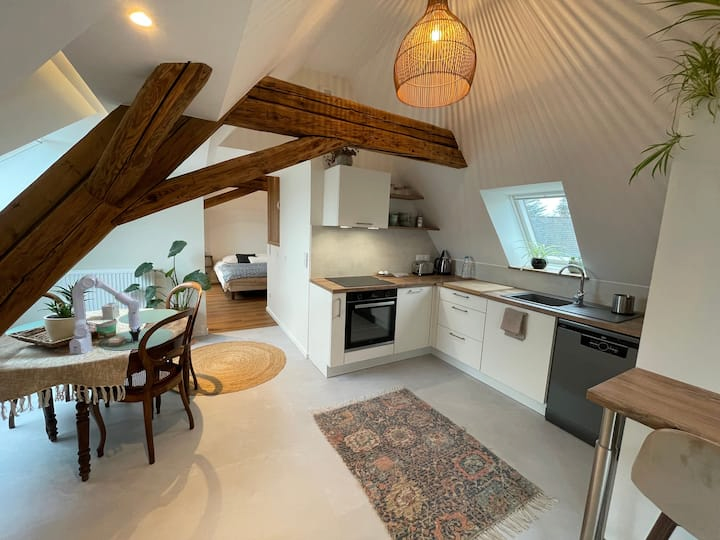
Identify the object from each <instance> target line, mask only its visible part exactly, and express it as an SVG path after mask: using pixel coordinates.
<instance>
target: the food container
mask: <svg viewBox="0 0 720 540" xmlns="http://www.w3.org/2000/svg"><path fill="white" fill-rule="evenodd" d="M117 324H118V320H117V318H115V319H113V320H107V321H104V322H102V323H95V328H96V331H97V336H98V339H102V340H103V339H104V340H105V339H111V338H113V337H115V336H117Z"/></svg>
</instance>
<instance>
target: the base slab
mask: <svg viewBox="0 0 720 540" xmlns="http://www.w3.org/2000/svg"><path fill="white" fill-rule="evenodd" d="M126 343H128V342H127V338H125V339H124V340H123V341H121V342H119V343H109V342H107V347H121V346H122V344H123V345H124V344H126ZM120 345H121V346H120Z"/></svg>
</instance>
